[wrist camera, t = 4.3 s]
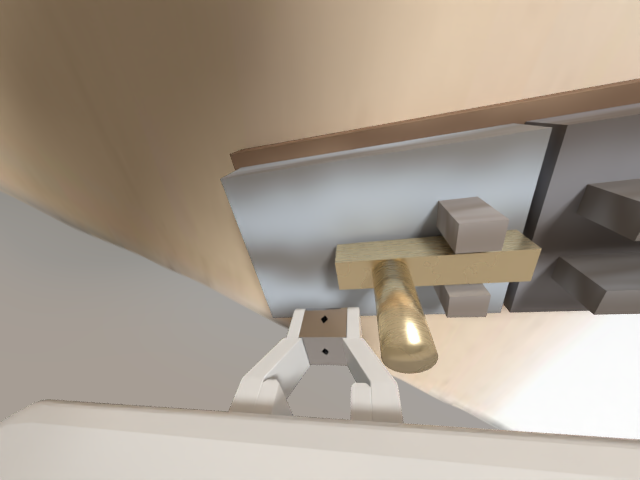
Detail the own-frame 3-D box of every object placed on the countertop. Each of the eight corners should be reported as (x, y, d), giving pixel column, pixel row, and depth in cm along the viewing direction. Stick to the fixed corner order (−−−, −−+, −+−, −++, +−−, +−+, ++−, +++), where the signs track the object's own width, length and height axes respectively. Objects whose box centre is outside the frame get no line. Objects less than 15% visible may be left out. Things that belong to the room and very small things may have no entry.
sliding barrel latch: (241, 149, 18) (171, 176, 11) (816, 46, 12) (1471, -38, 5) (285, 287, 25) (258, 357, 18) (666, 268, 18) (853, 365, 11)
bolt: (337, 244, 15) (325, 340, 9) (516, 229, 13) (661, 339, 7) (341, 269, 16) (332, 371, 10) (508, 259, 14) (629, 378, 8)
